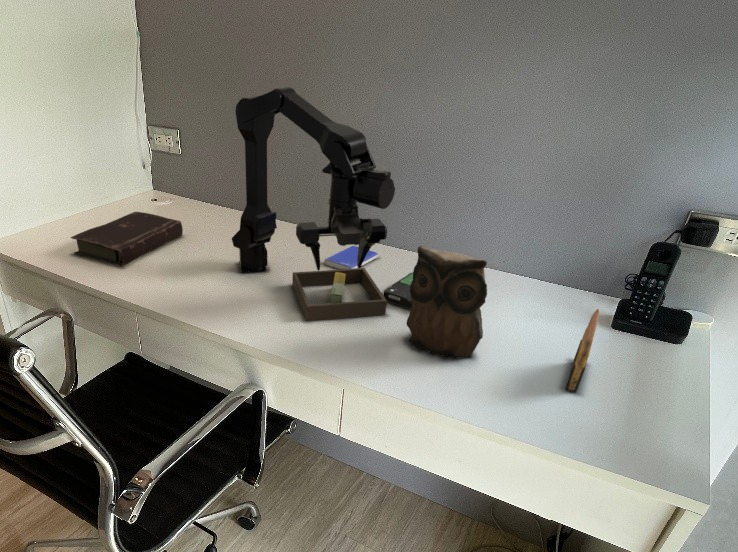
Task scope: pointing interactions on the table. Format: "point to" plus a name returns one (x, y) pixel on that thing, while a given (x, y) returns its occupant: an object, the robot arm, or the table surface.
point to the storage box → (344, 308)
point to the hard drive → (349, 258)
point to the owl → (447, 303)
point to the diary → (127, 238)
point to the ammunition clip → (582, 355)
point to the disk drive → (400, 292)
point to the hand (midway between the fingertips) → (338, 268)
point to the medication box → (337, 288)
